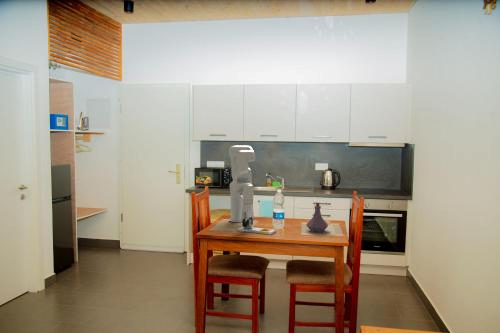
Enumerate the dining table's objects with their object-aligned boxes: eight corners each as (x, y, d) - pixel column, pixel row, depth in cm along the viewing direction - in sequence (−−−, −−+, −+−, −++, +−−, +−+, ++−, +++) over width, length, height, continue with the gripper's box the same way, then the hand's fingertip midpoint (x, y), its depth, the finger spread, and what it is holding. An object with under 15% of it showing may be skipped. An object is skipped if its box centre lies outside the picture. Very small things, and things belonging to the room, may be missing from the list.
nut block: (246, 229, 284) (246, 218, 284) (251, 230, 282) (251, 219, 282) (243, 230, 280) (243, 219, 280) (248, 231, 279) (248, 220, 278)
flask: (302, 228, 289) (303, 201, 288) (324, 228, 292) (325, 201, 290) (309, 233, 273) (309, 205, 272) (332, 233, 275) (332, 204, 274)
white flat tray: (243, 228, 288) (243, 225, 288) (276, 232, 277) (276, 229, 276) (237, 230, 280) (237, 228, 280) (270, 234, 268) (270, 232, 268)
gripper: (248, 199, 290) (248, 223, 291) (237, 203, 274) (237, 227, 275) (257, 200, 286) (257, 224, 287) (247, 203, 271) (246, 228, 272)
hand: (247, 225), depth 281 cm, fingers open, 9 cm apart
